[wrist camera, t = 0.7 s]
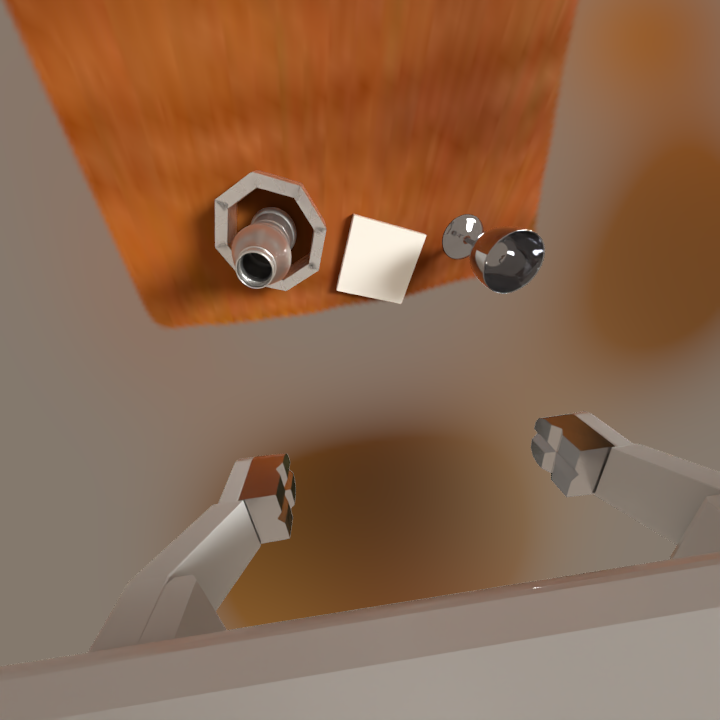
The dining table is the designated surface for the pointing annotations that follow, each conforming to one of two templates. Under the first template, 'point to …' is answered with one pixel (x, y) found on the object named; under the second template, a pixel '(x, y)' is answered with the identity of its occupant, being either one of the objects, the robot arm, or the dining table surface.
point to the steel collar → (280, 185)
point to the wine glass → (495, 252)
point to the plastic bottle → (264, 248)
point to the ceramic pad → (379, 259)
